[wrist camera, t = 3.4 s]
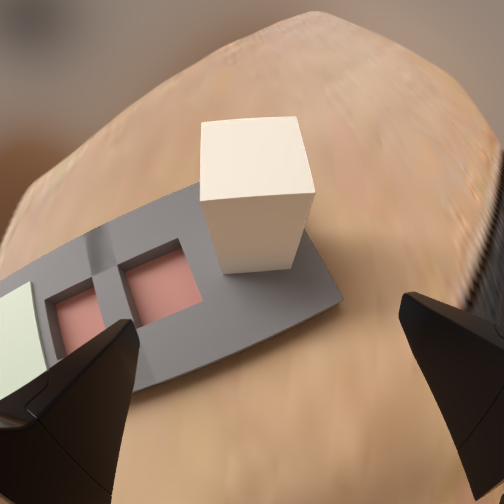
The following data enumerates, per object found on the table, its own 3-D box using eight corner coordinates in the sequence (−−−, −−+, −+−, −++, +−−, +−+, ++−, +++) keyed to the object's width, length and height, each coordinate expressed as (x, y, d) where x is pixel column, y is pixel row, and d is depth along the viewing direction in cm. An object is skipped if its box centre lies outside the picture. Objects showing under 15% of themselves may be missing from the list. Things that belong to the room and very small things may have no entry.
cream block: (282, 210, 24) (296, 116, 15) (290, 268, 22) (315, 192, 13) (219, 214, 24) (201, 122, 14) (222, 274, 22) (199, 201, 13)
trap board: (261, 172, 28) (261, 156, 26) (336, 305, 23) (345, 298, 21) (-6, 297, 23) (-19, 291, 21) (21, 424, 18) (6, 425, 16)
